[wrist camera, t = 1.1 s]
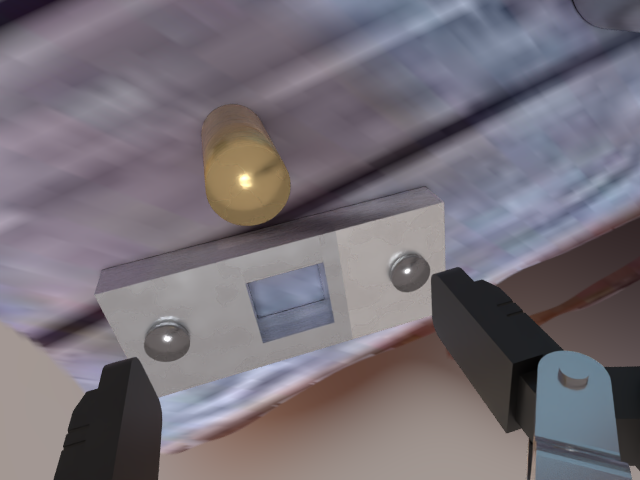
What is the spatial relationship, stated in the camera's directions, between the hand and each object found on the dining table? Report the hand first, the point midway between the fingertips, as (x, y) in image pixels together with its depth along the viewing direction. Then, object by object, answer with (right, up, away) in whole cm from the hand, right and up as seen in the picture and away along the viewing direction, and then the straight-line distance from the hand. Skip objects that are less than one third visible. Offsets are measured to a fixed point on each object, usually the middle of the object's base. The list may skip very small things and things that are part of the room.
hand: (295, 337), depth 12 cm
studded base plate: (-2, -1, +23) cm, 23 cm away
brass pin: (-5, +9, +17) cm, 20 cm away
